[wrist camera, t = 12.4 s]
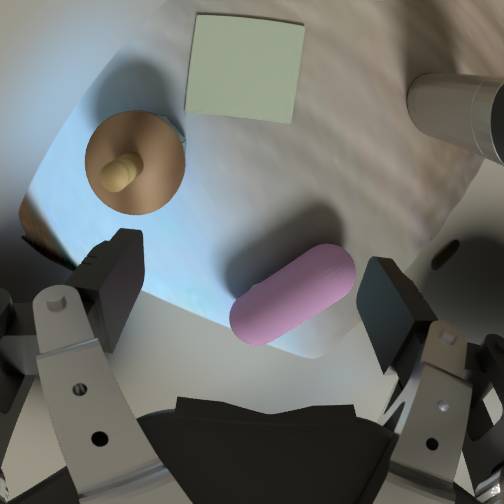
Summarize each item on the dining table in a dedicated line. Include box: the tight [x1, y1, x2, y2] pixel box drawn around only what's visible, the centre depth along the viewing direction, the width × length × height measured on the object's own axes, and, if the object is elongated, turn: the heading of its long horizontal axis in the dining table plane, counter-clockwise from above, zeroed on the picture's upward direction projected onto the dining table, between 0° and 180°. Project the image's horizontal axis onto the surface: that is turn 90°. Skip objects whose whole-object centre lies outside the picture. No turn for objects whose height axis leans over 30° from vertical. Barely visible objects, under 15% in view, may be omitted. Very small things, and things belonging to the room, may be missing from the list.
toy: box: [229, 244, 356, 345], centre depth 44 cm, size 8×9×20 cm
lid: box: [85, 111, 185, 215], centre depth 30 cm, size 12×12×6 cm
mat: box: [185, 15, 305, 124], centre depth 32 cm, size 13×13×1 cm
